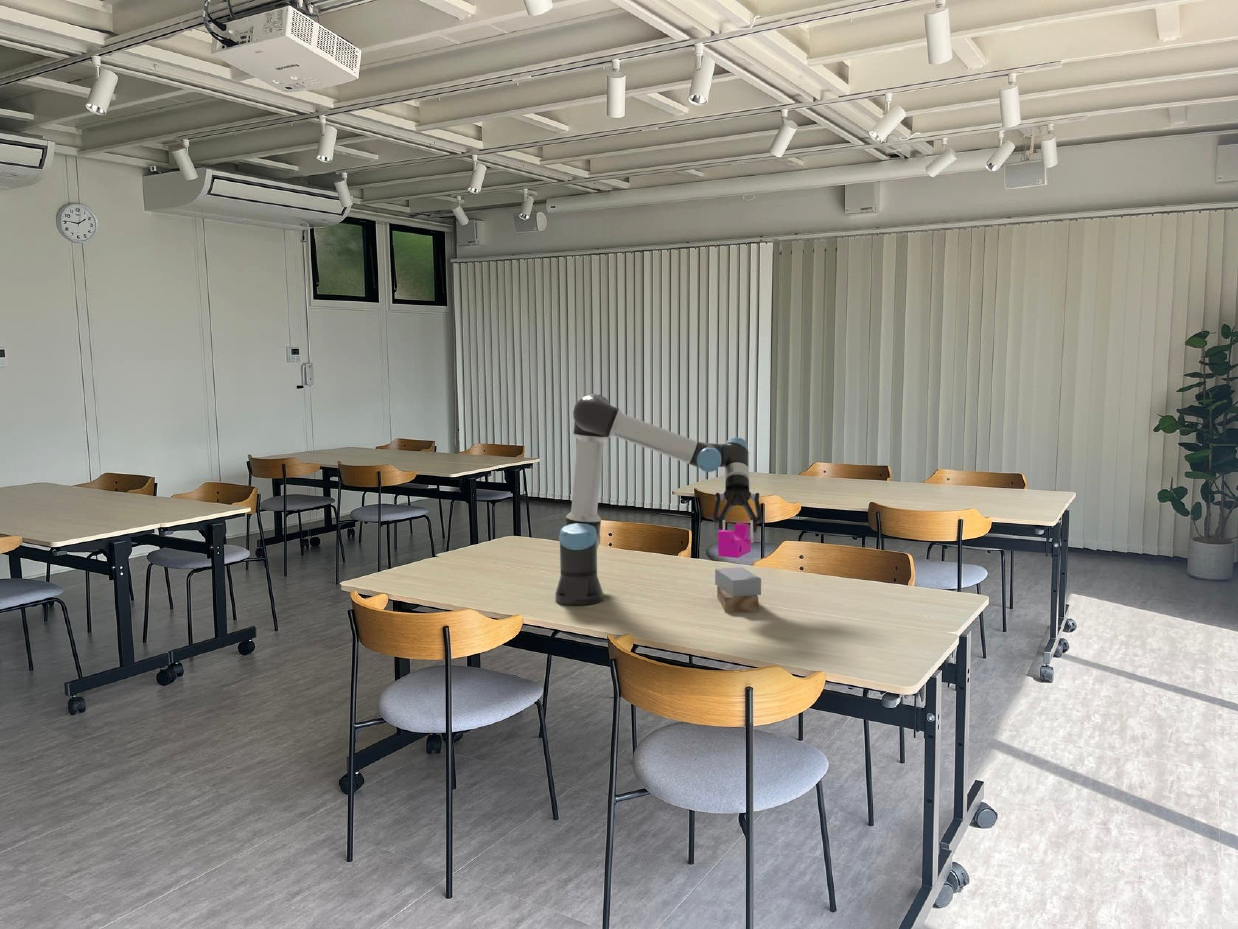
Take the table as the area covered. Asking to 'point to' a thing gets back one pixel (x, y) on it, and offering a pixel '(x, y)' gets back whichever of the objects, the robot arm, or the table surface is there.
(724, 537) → the toy block
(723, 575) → the tower top
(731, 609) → the tower base
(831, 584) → the table surface
